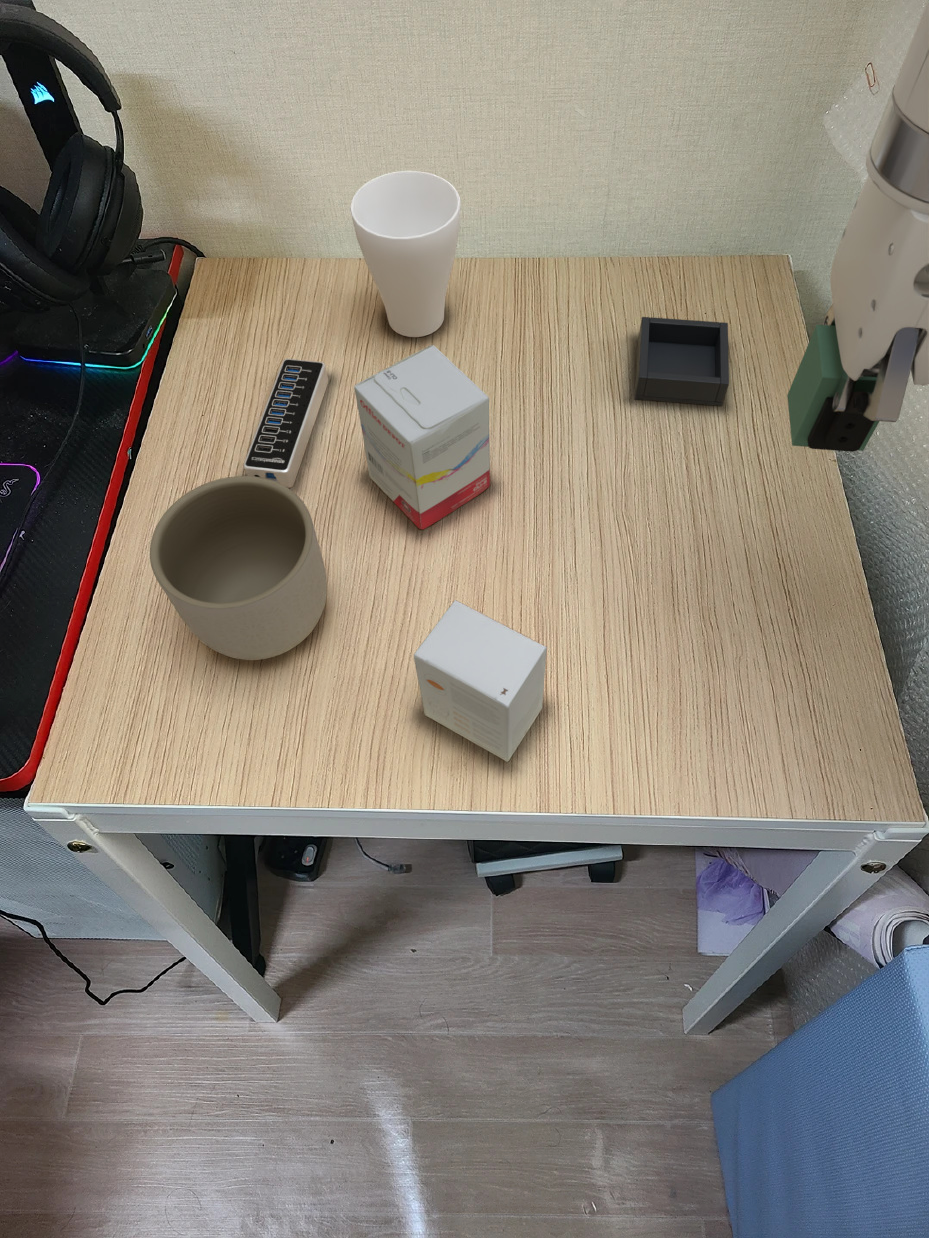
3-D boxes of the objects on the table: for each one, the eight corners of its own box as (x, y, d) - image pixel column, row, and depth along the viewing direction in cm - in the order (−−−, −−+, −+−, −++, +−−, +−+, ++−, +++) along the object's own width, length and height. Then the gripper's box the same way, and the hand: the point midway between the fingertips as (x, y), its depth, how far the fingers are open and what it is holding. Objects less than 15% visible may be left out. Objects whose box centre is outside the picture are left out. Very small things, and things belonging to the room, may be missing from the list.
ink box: (493, 487, 82) (493, 395, 71) (419, 533, 79) (408, 445, 69) (439, 433, 85) (431, 338, 75) (366, 476, 83) (349, 384, 73)
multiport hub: (329, 379, 89) (325, 361, 87) (292, 488, 82) (287, 472, 80) (288, 374, 90) (283, 357, 88) (247, 483, 83) (241, 467, 81)
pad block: (855, 399, 58) (891, 328, 53) (863, 451, 56) (901, 382, 51) (787, 395, 58) (816, 324, 53) (791, 446, 56) (822, 377, 51)
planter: (340, 665, 73) (317, 596, 63) (190, 686, 72) (145, 619, 63) (331, 545, 79) (309, 466, 69) (193, 563, 78) (152, 485, 69)
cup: (381, 281, 97) (365, 165, 85) (473, 291, 96) (470, 175, 84) (356, 346, 92) (336, 233, 80) (453, 358, 90) (448, 244, 79)
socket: (721, 345, 90) (728, 322, 88) (722, 406, 86) (729, 384, 83) (637, 339, 91) (642, 316, 88) (634, 399, 87) (638, 377, 84)
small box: (543, 709, 70) (550, 646, 61) (507, 765, 68) (509, 708, 59) (459, 662, 72) (454, 596, 63) (422, 715, 70) (411, 653, 61)
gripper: (1086, 265, 36) (904, 525, 52) (1007, 50, 45) (871, 330, 61) (901, 255, 37) (777, 515, 53) (857, 44, 45) (762, 323, 61)
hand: (828, 414), depth 57 cm, fingers closed on pad block, 4 cm apart
